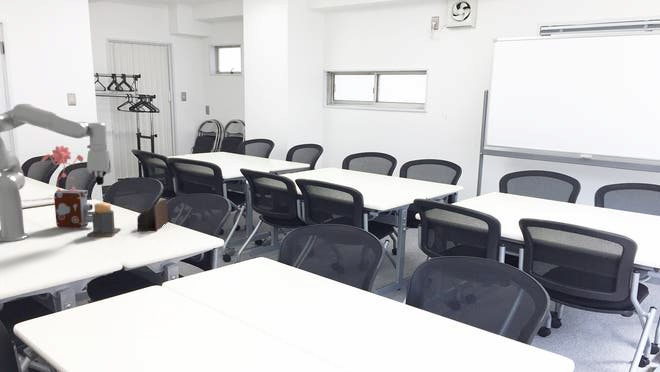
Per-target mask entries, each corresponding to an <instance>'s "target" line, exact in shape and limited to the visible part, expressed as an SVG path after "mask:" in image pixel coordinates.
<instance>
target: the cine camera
mask: <svg viewBox="0 0 660 372" xmlns="http://www.w3.org/2000/svg"><path fill="white" fill-rule="evenodd" d="M88 194H89V192H88V190H87V189H85V190H84V189H76V190H71V189H62V190H61V189H60V191H58V192H56V191H55V192H54V194H53V195H54V196H53V201H54V211H55V223H56V227H57V228H59V229H83V228H86V227H87V226H88V225H89V223H93V218H92V212H93V211H92V210H93V208H94V207H93V206H94V205H93V204H92V203H88Z"/></svg>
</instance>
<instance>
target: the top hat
mask: <svg viewBox="0 0 660 372" xmlns="http://www.w3.org/2000/svg"><path fill="white" fill-rule="evenodd" d="M91 212H92V218H93V222H92V229H93V230H92V231H90V232H89V233H87V234H86V236H87V238H96V237H97V238H100V237H101V238H106V237H107V238H108V237H109V238H112V237H114V236H115V235H116V234H118V233H120V231H121V227H120V228H119V227H118V228H117V227H116V226H115V215H114V213H115V212H114V211H113V210H112V209H111V212H110V213H105V214H96V213H95V210H94V211H91Z"/></svg>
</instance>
